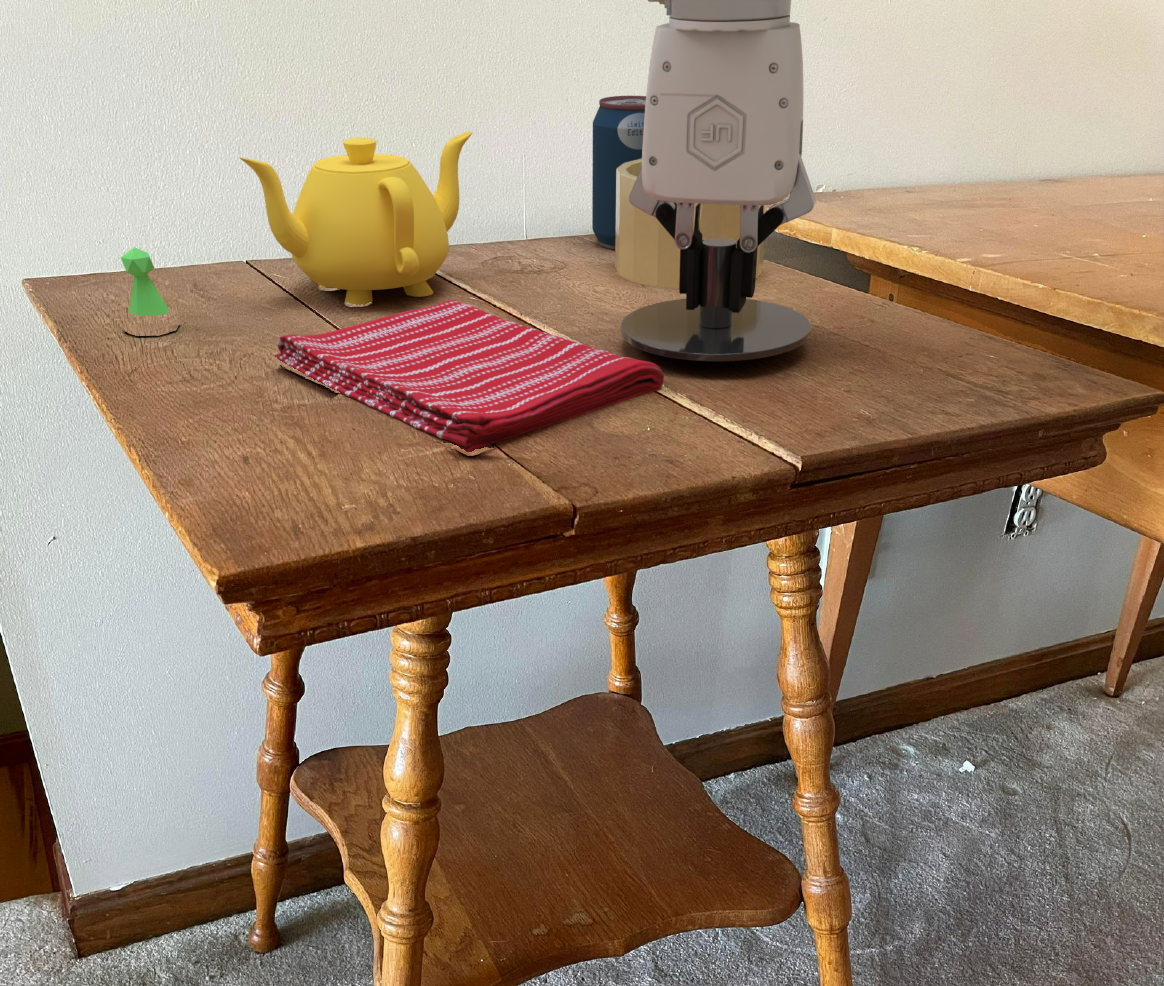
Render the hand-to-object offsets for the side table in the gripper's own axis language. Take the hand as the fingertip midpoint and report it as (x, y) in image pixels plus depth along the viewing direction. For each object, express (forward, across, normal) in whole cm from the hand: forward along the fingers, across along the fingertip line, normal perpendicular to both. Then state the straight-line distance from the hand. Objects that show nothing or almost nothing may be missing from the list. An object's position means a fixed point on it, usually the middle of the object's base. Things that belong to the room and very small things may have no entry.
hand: (716, 303), depth 85 cm
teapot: (+3, -30, +9) cm, 32 cm away
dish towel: (+4, -16, -10) cm, 19 cm away
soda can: (+4, -14, +31) cm, 34 cm away
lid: (+2, 0, 0) cm, 2 cm away
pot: (+4, -6, +21) cm, 22 cm away
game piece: (+3, -44, -5) cm, 44 cm away
